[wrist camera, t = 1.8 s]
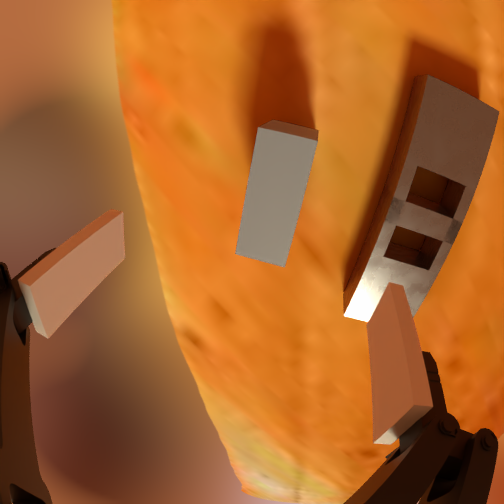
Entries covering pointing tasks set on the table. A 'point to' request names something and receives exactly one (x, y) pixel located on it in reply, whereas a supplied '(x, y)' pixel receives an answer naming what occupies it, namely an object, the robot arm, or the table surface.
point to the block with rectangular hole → (415, 207)
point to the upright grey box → (275, 190)
